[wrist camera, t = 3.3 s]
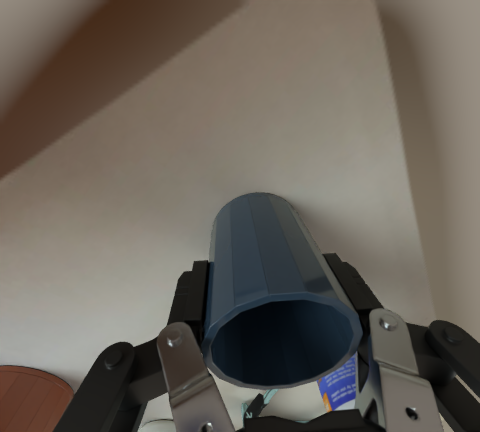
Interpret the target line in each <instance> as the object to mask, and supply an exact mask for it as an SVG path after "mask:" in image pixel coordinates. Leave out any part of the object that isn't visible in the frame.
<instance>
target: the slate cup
mask: <svg viewBox="0 0 480 432" xmlns="http://www.w3.org/2000/svg"><path fill="white" fill-rule="evenodd" d="M362 336H363V330H362V326H361V323H360V319H359V315H358V313H357V312H356V310H355V308H354V307H353V305H352V303H351V302H350V300H349V298H348V297H347V295H346V293H345V292H344V290H343V288H342V287H341V285H340V283H339V282H338V280H337V278H336V277H335V275H334V273H333V271H332V270H331V268H330V266H329V265H328V263H327V261H326V260H325V258H324V256H323V255H322V253H321V251H320V250H319V248H318V246H317V245H316V243H315V241H314V240H313V238H312V236H311V235H310V233H309V231H308V230H307V228H306V226H305V224H304V223H303V221H302V219H301V218H300V216H299V214H298V213H297V212H296V211H295V209H294V208H293V207H292V206H291V205H290V204H289V203H288V202H287V201H286V200H284V199H282V198H281V197H278V196H276V195H273V194H269V193H250V194H246V195H242V196H240V197H237V198H235V199H233V200H232V201H230V202H229V203H228V204H226V205H225V206H224V207H223V208H222V209H221V210H220V212H219V213H218V215H217V216H216V219H215V221H214V224H213V229H212V232H211V242H210V253H209V264H208V275H207V285H206V296H205V307H204V317H203V328H202V338H201V350H202V355H203V359H204V361H205V364H206V366H207V367H208V368H209V369H210V370H211V371H212V372H213V373H214V374H215V375H216V376H217V377H218V378H219V379H222V380H224V381H226V382H229V383H231V384H234V385H236V386H239V387H245V388H252V389H260V390H271V389H283V388H292V387H296V386H299V385H303V384H307V383H310V382H314V381H317V380H319V379H321V378H323V377H325V376H327V375H328V374H330V373H332V372H334V371H336V370H338V369H339V368H341V367H342V366H343V365H344V364H345V363H346V362H347V361H348V360H349V359H350V358H351V357H352V356H353V355H354V354H355V353H356V352H357V349H358V347H359V344H360V342H361V339H362Z"/></svg>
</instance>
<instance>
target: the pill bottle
mask: <svg viewBox="0 0 480 432" xmlns="http://www.w3.org/2000/svg"><path fill="white" fill-rule="evenodd" d="M317 383H318V386H319V390H320V392H321V395H322V398H323V402H324V405H325V408H326V411H327V412H330V411H335V410H346V409H354V406H355V399H356V384H355V354H354V355H353V356H352V357H351V358H350V359H349V360H348V361H347V362H346V363H345V364H344V365H343V366H342V367H341V368H339V369H338V370H336V371H334V372H332V373H330V374H328V375H327V376H325V377H323V378H321V379H319V380H317Z"/></svg>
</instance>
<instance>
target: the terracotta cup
mask: <svg viewBox="0 0 480 432" xmlns="http://www.w3.org/2000/svg"><path fill="white" fill-rule="evenodd" d="M73 397H74V393H73V390H72V389H71V387H70V386H69V385H68V384H67V383H66V382H64V381H63V380H61V379H60V378H58V377H56V376H54V375H51V374H49V373H46V372H43V371H40V370H36V369H31V368H26V367H18V366H0V432H53V430H54V428H55V427H56V425H57V423H58V422H59V420H60V418H61V417H62V415H63V413H64V412H65V410H66V409H67V407H68V405H69V404H70V402H71V400H72V399H73Z"/></svg>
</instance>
